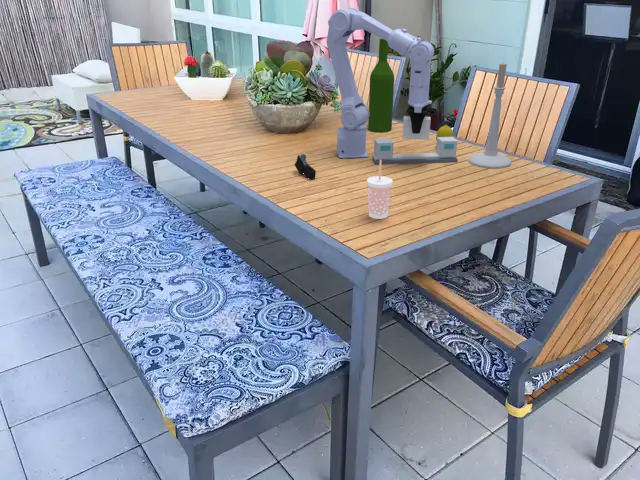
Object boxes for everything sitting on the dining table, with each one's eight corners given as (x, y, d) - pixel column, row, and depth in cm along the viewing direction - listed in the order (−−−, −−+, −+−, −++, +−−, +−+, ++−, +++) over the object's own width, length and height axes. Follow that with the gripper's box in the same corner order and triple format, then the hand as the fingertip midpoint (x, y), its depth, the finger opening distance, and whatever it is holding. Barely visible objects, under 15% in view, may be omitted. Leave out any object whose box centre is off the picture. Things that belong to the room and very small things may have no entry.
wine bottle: (396, 130, 203) (401, 39, 188) (378, 133, 198) (382, 40, 184) (381, 125, 209) (385, 37, 195) (363, 128, 205) (366, 38, 191)
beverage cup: (368, 209, 134) (370, 155, 128) (392, 211, 132) (395, 157, 126) (363, 218, 129) (364, 162, 122) (388, 221, 127) (391, 164, 121)
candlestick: (478, 169, 161) (492, 66, 147) (462, 157, 172) (473, 59, 159) (518, 167, 162) (535, 64, 149) (499, 155, 174) (513, 58, 161)
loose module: (428, 139, 161) (430, 120, 159) (402, 138, 163) (403, 119, 160) (428, 136, 165) (430, 116, 162) (402, 135, 166) (403, 115, 164)
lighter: (313, 185, 157) (319, 172, 152) (307, 186, 156) (313, 174, 151) (300, 163, 160) (305, 150, 156) (294, 164, 159) (299, 151, 155)
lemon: (452, 151, 178) (454, 127, 174) (435, 150, 179) (437, 126, 175) (451, 146, 183) (454, 123, 179) (435, 145, 184) (437, 122, 180)
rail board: (375, 164, 166) (376, 143, 163) (372, 158, 171) (372, 138, 168) (457, 161, 167) (459, 141, 165) (451, 156, 173) (453, 136, 170)
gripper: (433, 90, 150) (429, 138, 156) (432, 81, 163) (428, 125, 169) (408, 90, 151) (405, 137, 157) (409, 81, 164) (406, 125, 170)
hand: (416, 131), depth 163 cm, fingers closed on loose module, 4 cm apart
